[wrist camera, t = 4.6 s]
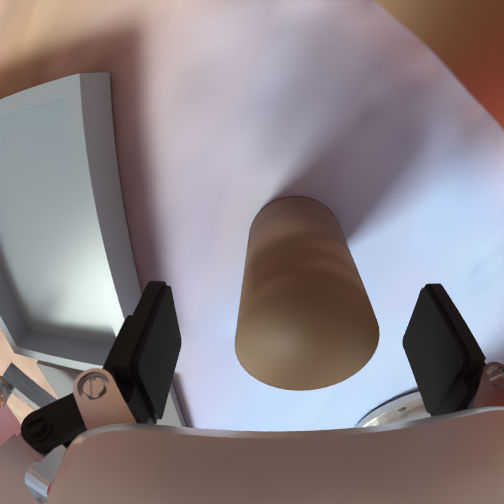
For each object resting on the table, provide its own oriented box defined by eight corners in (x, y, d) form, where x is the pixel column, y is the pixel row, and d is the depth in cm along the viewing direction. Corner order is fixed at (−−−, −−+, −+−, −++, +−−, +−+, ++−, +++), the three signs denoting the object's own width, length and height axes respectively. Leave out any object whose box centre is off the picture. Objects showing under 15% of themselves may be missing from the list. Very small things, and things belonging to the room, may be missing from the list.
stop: (344, 198, 16) (395, 289, 9) (334, 278, 19) (361, 388, 12) (248, 195, 16) (231, 287, 9) (249, 276, 19) (237, 388, 12)
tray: (109, 72, 13) (79, 73, 11) (156, 351, 23) (146, 381, 20) (-34, 119, 14) (-63, 129, 11) (30, 330, 23) (14, 352, 21)
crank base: (171, 380, 24) (163, 409, 22) (195, 450, 31) (191, 471, 29) (40, 356, 25) (27, 378, 22) (89, 429, 32) (82, 448, 29)
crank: (140, 443, 25) (128, 488, 20) (116, 449, 27) (103, 488, 22) (11, 351, 20) (-17, 394, 15) (1, 367, 22) (-22, 405, 17)
